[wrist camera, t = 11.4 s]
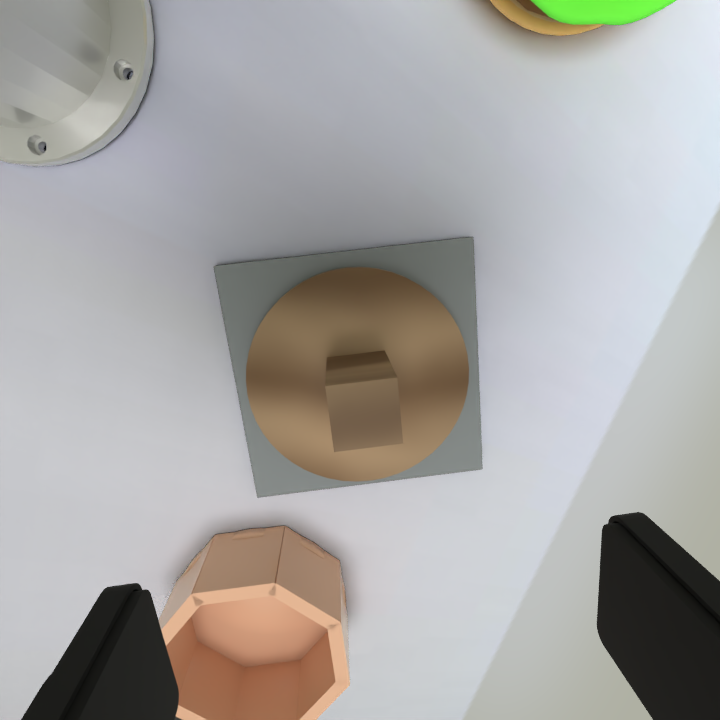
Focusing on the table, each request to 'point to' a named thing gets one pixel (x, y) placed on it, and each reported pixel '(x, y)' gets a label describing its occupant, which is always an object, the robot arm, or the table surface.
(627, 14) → the hamburger
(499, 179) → the table surface
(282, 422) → the lid
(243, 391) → the mat
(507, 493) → the table surface
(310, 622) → the bowl
